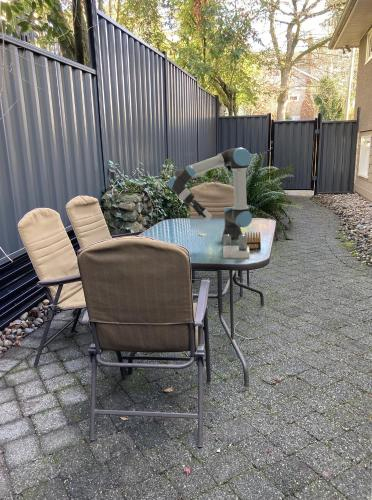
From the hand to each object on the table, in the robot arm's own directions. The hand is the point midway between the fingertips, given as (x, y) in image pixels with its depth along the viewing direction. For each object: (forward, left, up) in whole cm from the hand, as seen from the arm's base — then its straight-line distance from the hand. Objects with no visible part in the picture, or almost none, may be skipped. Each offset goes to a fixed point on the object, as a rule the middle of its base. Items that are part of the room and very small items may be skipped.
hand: (210, 219), depth 254 cm
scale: (+16, +17, -20) cm, 31 cm away
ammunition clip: (+4, +28, -20) cm, 34 cm away
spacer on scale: (+20, +21, -16) cm, 33 cm away
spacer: (0, +11, -20) cm, 23 cm away
